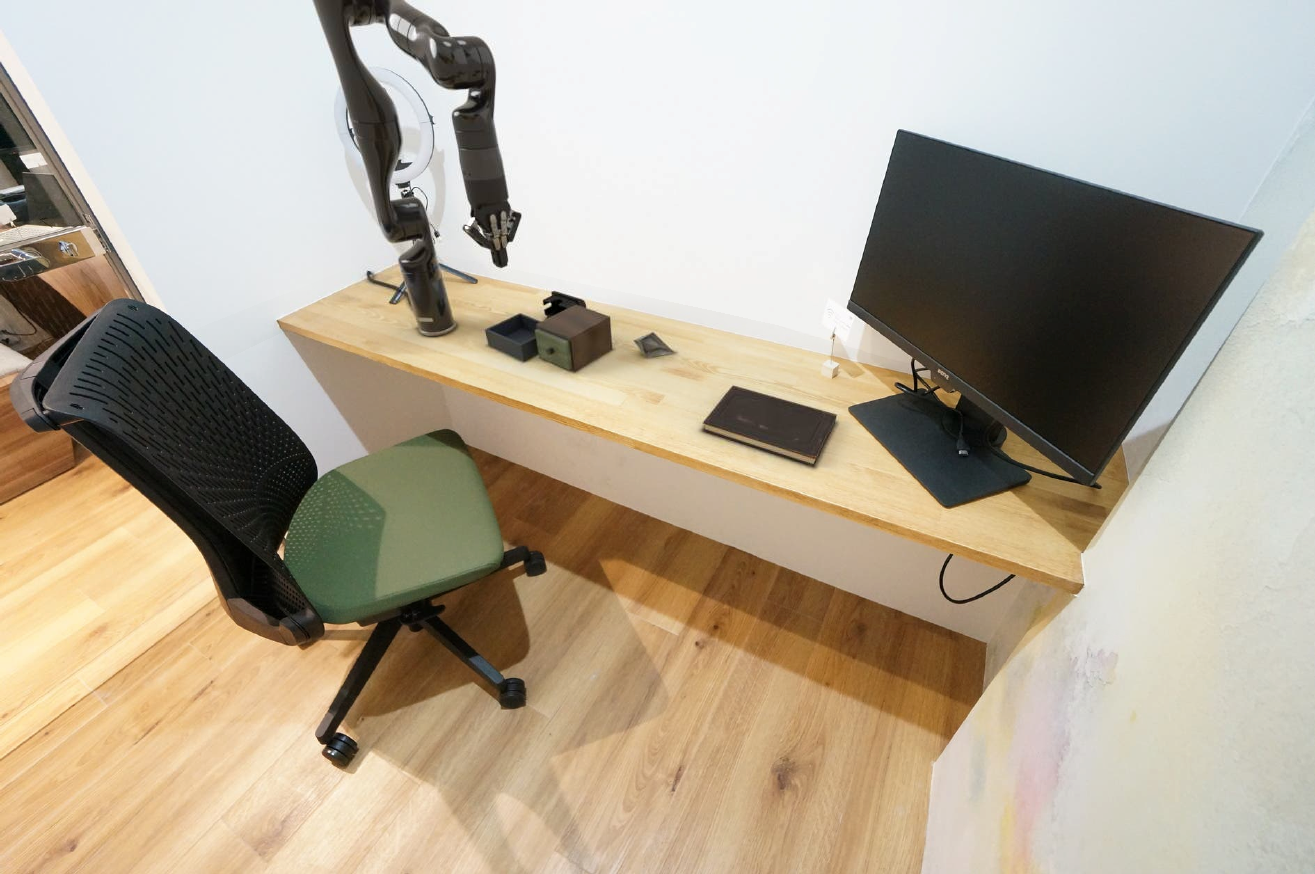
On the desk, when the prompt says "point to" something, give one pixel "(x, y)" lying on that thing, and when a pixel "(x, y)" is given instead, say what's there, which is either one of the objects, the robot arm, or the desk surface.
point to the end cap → (560, 303)
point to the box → (514, 337)
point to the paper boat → (652, 345)
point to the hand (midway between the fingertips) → (501, 266)
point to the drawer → (554, 348)
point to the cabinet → (581, 333)
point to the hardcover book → (771, 424)
